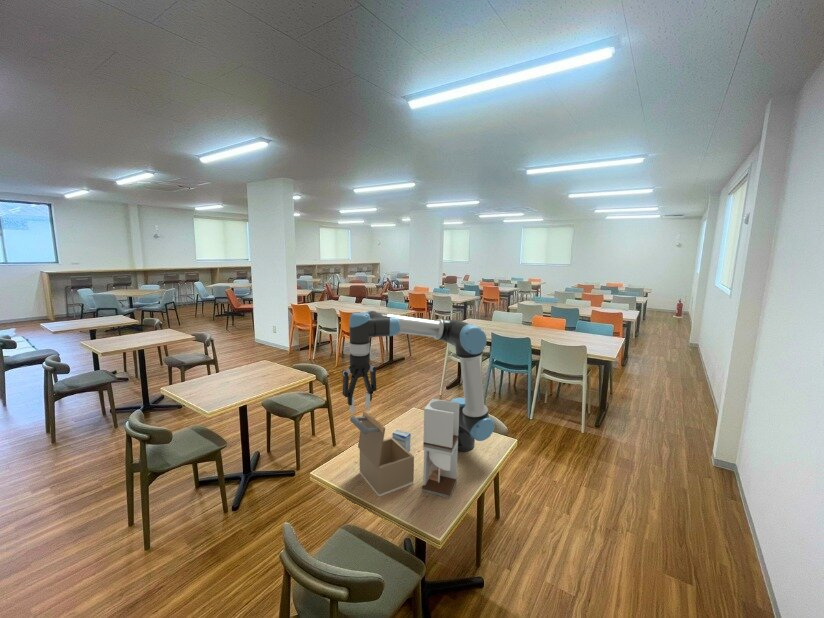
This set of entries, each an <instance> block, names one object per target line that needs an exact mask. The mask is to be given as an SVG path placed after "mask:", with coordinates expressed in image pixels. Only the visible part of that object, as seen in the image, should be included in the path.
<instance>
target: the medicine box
mask: <svg viewBox="0 0 824 618" xmlns="http://www.w3.org/2000/svg"><path fill="white" fill-rule="evenodd" d="M411 434H412V433H411V432H410V433H409V432H407V431H403V430H399V429H396V430H394V431H393V432H392V437H391V438H394V439H395V440H396V441H397V442H398V443H399V444H400V445H401V446H403V447H404V448H405V449H406V450H407V451H408V452H410V451H411V437H412V435H411Z"/></svg>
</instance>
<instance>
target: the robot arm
mask: <svg viewBox="0 0 824 618" xmlns="http://www.w3.org/2000/svg"><path fill="white" fill-rule="evenodd" d="M348 328H349V329H348V330H349V353H350V354H349V367H348V369H346V370H342V372H341V373H342V377H343V379H342V396H344V397H345V398H347V404H348V406H349V412H350V413H351V414H352V415H354V414H355V397H354V392H355V389H356V385H357V381H358V380H359V379H360V378H362V379H363V382H364V385H365V388H366V391H365V392H364V393H365V395H364V397H365V401H364V402H365V403H364V404H365V406H364V407H365V409H366V410H367V411H371V401H372V400H373V394H374V392H377V389H378V388H377V377H376V376H377V374H376V373H377V369H378V368H377V366H375V365H371V364H370V362H371V361H370V359H371V358H370V347H371V346H370V344H371V343H370V340H371V339H370V338H376V337H377V338H378V337H379V338H380V337H393V336H397V335H398V334H406V335H414V336H415V335H416V336H421V337H422V336H423V337H431V338H433V339H434V340H438V341H443V342H445V343H448V344H450V345H452V346H454V348H455V355H456V357H457V358H459V359H460V360H459V361H460V369H461V378H462V387H463V388H462V389H463V397H455V398H451V400H450V401H452V402H458V403H460V404H459V428H458V452H467V451H470V450H473V449H474V447H475V441H478V442H484V441H485V440H486V441H487V439H489V438H490V437H491V435H492V434H493V433H494V430H495V422H494V420H493V419H492V418H491V417H490V415H489V407H488V406H487V405H486V404H485V398H484V389H483V387H484V386H483V380H482V367H481V360H480V359H481V358H480V357H482V355H483V354H484V350H485V347H486V346H487V341H488V339H487V335H486V332H485V331H484V330H483V329H482V328H481V327H480V326H478V325H475V324H473V323H468V322H465V321H462V320H459V319H458V320H456V319H442V318H438V319H435V320H433V319H426V318H422V317H421V318H420V317H413V316H404V315H398V314H392V313H384V312H377V311H375V310H368V311H366V312H353V313H351V314H350V315H349V324H348ZM368 372H369V374H370V376H369V375H368ZM350 373H351V375H350ZM369 377H370V379H369ZM350 378H351V379H350ZM349 379H350V380H349ZM349 381H350V382H349Z"/></svg>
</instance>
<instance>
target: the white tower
mask: <svg viewBox="0 0 824 618" xmlns="http://www.w3.org/2000/svg"><path fill="white" fill-rule="evenodd" d="M459 404H460V403H458V402H452V401H451V400H446V399H445V400H444V399H438V398H431V400H430V401H429V402H428V403H427V404H426V406H424V408H423V410H424V411H423V438H422V439H423V441H422V442H423V443H422V444H423V446H422V447H423V448H422V450H423V475H422V476H423V479H422V480H423V482H422V483H423V484H422V487H421V489H422V490H421V492H424V493H428V494H431V495H435V496H439V497H443V498H446V499H451V498H452V494H453V492H454V490H455V487H456V485H457V476H458V453H459V451H458V428H459ZM455 484H456V485H455ZM453 489H454V490H453Z"/></svg>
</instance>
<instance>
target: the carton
mask: <svg viewBox="0 0 824 618" xmlns="http://www.w3.org/2000/svg"><path fill="white" fill-rule="evenodd" d="M414 465H415V456H414V455H413V454H411V452H410V451H407V450H406V449H405V448H404V447H403V446H401V445H400V444H399V443H398V442H397V441H396V440H395V439H394V438H392V437H388V438H386V439H385V438H384V440H383V446H382V453H381V459H380V466H379V468H378V469H377V468H376V467H375V466H374V464H373V463H372V462H371V461H370V460H369V459H368V458H367V457H366V456H365V454H364V453H363V452H362V451H361V450H360V449H359V474H360V476H361V477H362V478H363V480H365V481H366V482H367V484H368V485H369V486H370V488H371V489H372V490H373V491H374V493H375V494H376V495H377V497H378V498H379V497H383V496H384V495H385V496H386V495H388V494H390V493H393V492H395V491H398V490H401V489H403V488H406V487H407V486H411V485H414V479H415V477H414V476H415V475H414V473H415V471H414V470H415V466H414Z"/></svg>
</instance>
